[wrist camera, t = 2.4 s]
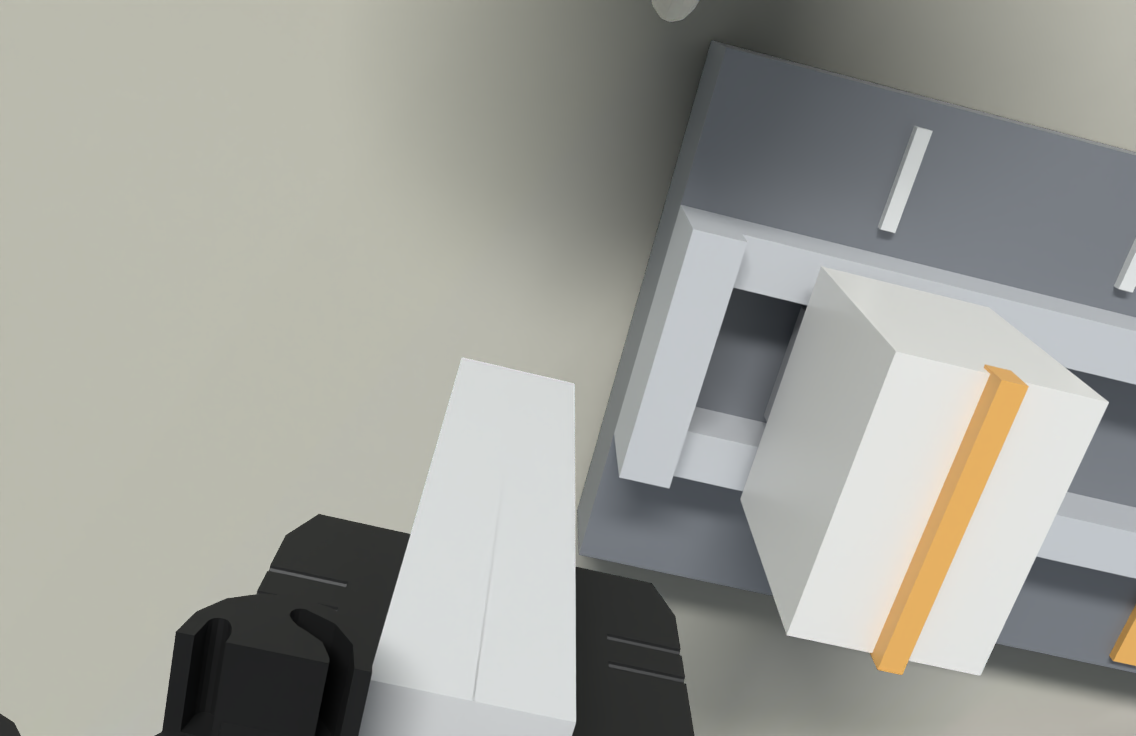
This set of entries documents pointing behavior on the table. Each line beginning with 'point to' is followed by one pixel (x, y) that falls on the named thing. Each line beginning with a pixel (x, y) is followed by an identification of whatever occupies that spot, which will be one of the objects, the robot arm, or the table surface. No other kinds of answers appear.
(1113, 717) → the table surface
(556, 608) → the robot arm
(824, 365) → the fader tab
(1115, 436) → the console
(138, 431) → the table surface
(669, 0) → the mug
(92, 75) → the table surface
